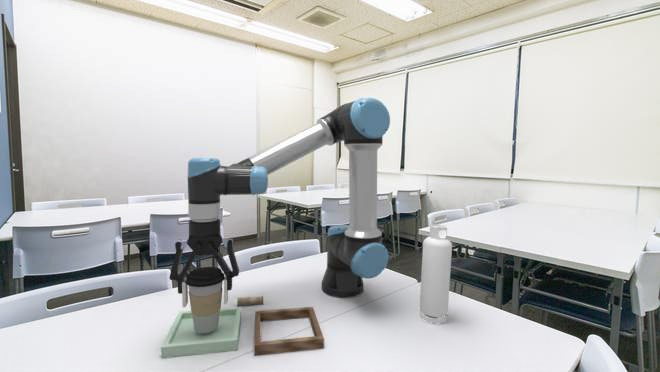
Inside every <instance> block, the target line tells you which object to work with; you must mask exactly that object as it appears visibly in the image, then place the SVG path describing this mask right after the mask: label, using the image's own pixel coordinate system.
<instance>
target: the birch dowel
mask: <svg viewBox="0 0 660 372" xmlns="http://www.w3.org/2000/svg"><path fill="white" fill-rule="evenodd" d="M236 299H237V301H236V303H237V306H236V307H242V306H257V305H264V295H262V296H261V295H260V296H246V297H237V298H236Z"/></svg>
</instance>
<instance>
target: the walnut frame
mask: <svg viewBox="0 0 660 372" xmlns="http://www.w3.org/2000/svg"><path fill="white" fill-rule="evenodd" d="M254 312H255V314H254V315H255V317H254V353H253V354H254V356H263V355H271V354H272V355H273V354H281V353H290V352H291V353H292V352H299V351H309V350H310V351H312V350H318V349H319V350H320V349H324V348H325V346H324V344H325V338H324V335H323V333H322V330H321V327H320V323H319V321H318V320H319V319H318V318H317V314H316V311H315V309H314V306H305V307H294V308H293V307H292V308H291V307H290V308H279V309H268V310H266V309H265V310H255V311H254ZM305 318H306V319H307V318H308V320H309V322H310V323H309V324H310V326H311V329H312V330H311V331H312V333H313V336H305V337H295V338H294V337H292V338H283V339H273V340H264V341H261V322H270V321H282V320H295V319H305Z"/></svg>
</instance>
